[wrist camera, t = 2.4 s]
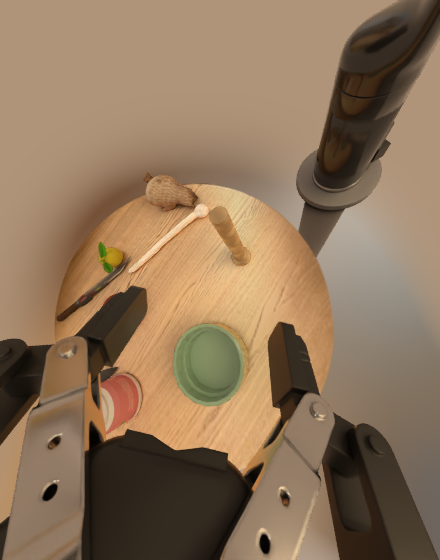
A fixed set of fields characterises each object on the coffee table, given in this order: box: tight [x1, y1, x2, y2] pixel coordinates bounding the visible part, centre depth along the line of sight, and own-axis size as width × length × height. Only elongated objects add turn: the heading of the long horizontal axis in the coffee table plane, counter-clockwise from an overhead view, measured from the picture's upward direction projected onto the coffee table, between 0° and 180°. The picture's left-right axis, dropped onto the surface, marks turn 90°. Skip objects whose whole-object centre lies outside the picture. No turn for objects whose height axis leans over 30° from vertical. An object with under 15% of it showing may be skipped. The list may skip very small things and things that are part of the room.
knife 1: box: [57, 258, 130, 321], centre depth 53 cm, size 3×2×30 cm
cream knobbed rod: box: [128, 204, 209, 273], centre depth 48 cm, size 28×4×3 cm, turn 127°
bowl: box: [173, 323, 249, 406], centre depth 37 cm, size 14×14×6 cm
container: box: [101, 373, 142, 434], centre depth 40 cm, size 10×10×8 cm
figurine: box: [144, 173, 197, 210], centre depth 49 cm, size 9×10×15 cm
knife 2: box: [100, 367, 117, 383], centre depth 46 cm, size 17×2×5 cm
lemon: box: [98, 242, 123, 273], centre depth 50 cm, size 7×6×10 cm
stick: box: [209, 206, 251, 266], centre depth 35 cm, size 4×4×18 cm
